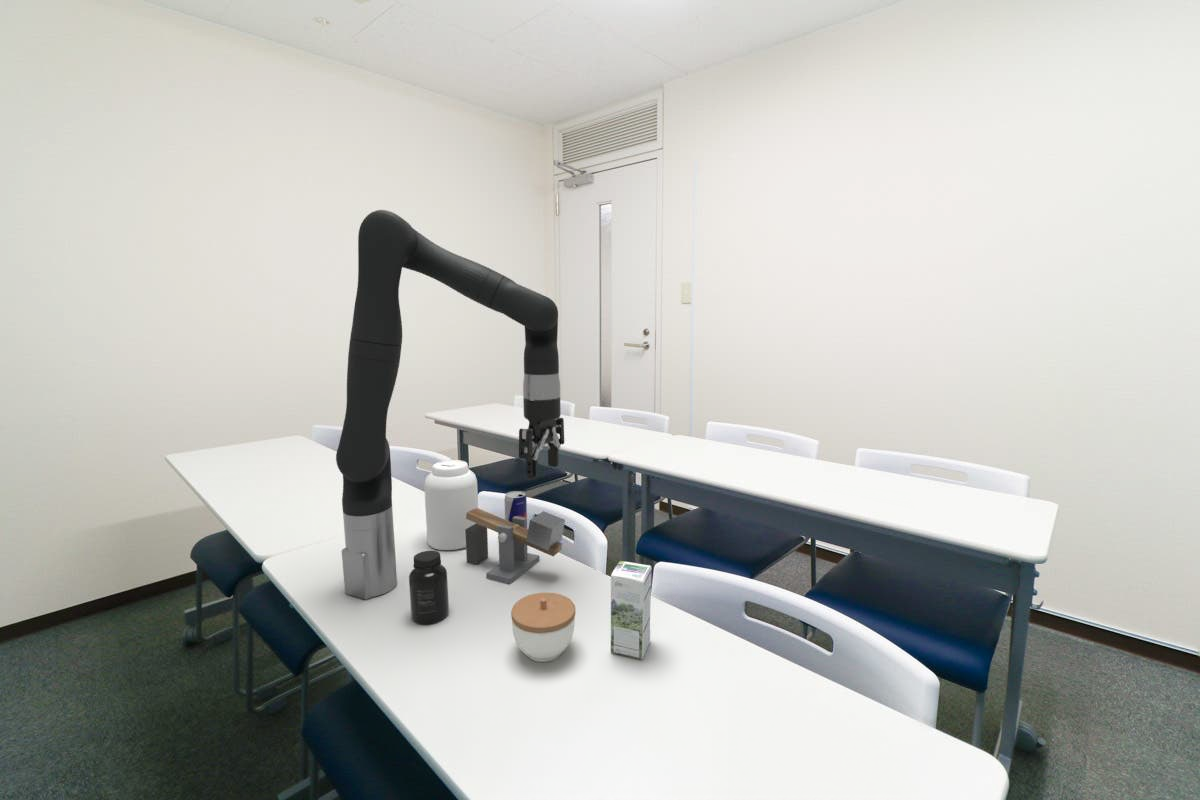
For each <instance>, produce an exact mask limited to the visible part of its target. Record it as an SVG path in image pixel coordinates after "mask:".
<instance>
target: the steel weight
mask: <svg viewBox="0 0 1200 800" xmlns="http://www.w3.org/2000/svg"><path fill="white" fill-rule="evenodd" d="M565 523H566V519H564V518H561V517H560V516H557V515H554V514H552V513H549V512H546V511H541V512H539V513H537V515H535V516H534V517H532V518H531V519H529V523H528V527H527V529H528V534H527V542H529V543H532V544H534V545H536V546H539V547H541V548H543V549H546V550H548V551H549V550H550V549H551V548H553V547H554V546H555V545H557V544H558V543H559V542H560V543H561V542H562V540H563V534H564V529H565Z"/></svg>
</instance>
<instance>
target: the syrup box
mask: <svg viewBox="0 0 1200 800" xmlns="http://www.w3.org/2000/svg"><path fill="white" fill-rule="evenodd" d="M651 598H652V566H651V565H649V564H642V563H637V562H631V561H623V560H619V562H618V563H617V565H616V566H615V568H614V569H613V571H612V573H611V574H610V653H611V654H614V655H615V654H616V655H619V656H624V657H629V658H633V659H638V660H643V659H644V656H645V653H646V652H647V649H648V647H649V644H650V642H651Z"/></svg>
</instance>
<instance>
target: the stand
mask: <svg viewBox="0 0 1200 800" xmlns="http://www.w3.org/2000/svg"><path fill="white" fill-rule="evenodd" d="M512 520H513V523H514V524H518V525H520V526H522V527H524V528H526V529H528V517H527V518H523V517H518V516H515V517H513V518H512ZM465 533H466V547H465V551H466V552H465V555H466V556H465V557H466V563H469V564H471V565H475V566H478V565H480V564H481V563H483V562H484V561H486V560H487V559H488V558H489V546H488V545H489V543H488V542H489V540H488V528H486V527H484V526H481V525H479V524H477V523H476V524H474V525H472V526H470V527H469V528H467V529H465ZM497 534H498V535H497V539H498V561H499V562H498V563H497V565H496V566H494V567H492V568H491V569H489V571H487V572H486V575H485V576H486V577H485V578H486V579H488V580H492V581H495V582H499V583H503V584H506V585H511V584H512V583H514V581H516V580H517V579H518V578H520V576H522V575H523V574H524V573H525V572H527V571H528V570H530V569H532V567H533V566H534V565H536V564H537V563H539V562H540V560H541V559H540V558H541V557H540V555H539V554H533V553H529V552H528V545H525V544H523V543H521V542H518V541H516V540H514V539H513V527H511V526H506V525H500V526H498V532H497Z"/></svg>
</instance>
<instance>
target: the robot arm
mask: <svg viewBox="0 0 1200 800" xmlns="http://www.w3.org/2000/svg"><path fill="white" fill-rule="evenodd" d="M357 236H358V237H357V238H358V239H357V240H358V241H357V243H358V244H357V245H358V246H357V250H358V252H357V254H358V258H357V259H358V261H357V264H358V267H357V269H358V273H357V276H358V277H357V289H356V296H355V301H354V308H353V315H352V324H351V329H350V330H351V331H350V338H349V346H348V355H347V356H348V357H347V369H346V370H347V372H346V373H347V374H346V405H345V406H346V407H345V408H346V409H345V415H344V420H343V425H342V429H341V430H342V431H341V434H340V439H339V443H338V447H337V450H336V454H335V461H336V462H335V463H336V465H337V468H338V470H339V472H340V473H341V475H342V483H343V484H342V497H341V505H342V507H341V508H342V516H343V529H344V542H345V548H342V549H341V560H342V561H341V562H342V569H343V570H342V572H343V573H342V574H343V583H344V594H347V595H349V596H353V597H356V598H359V599H363V600H366V601H367V600H369V599H371V598H374V597H378V596H382V595H385V594H386V593H389V592H391V591H392V590H394V589H395V588H396V586H397V584H398V578H397V576H398V575H397V573H398V572H397V560H396V559H397V557H396V545H395V531H394V530H395V529H394V528H395V527H394V513H393V498H392V495H393V479H392V465H391V464H392V463H391V448H390V443H389V441H388V439H387V421H388V419H387V417H388V411H389V406H390V404H391V399H392V397H393V393H394V390H395V385H396V381H397V377H398V373H399V368H400V361H401V353H402V344H403V322H402V315H401V308H400V298H399V297H400V295H399V293H400V291H399V290H400V289H399V288H400V281H401V275H402V271H403V268H404V269H407V270H410V271H414V272H417V273H419V274H423V275H425V276H427V277H430V278H431V279H434V280H436V281H438V282H440V283H442V284H444V285H445V286H447V287H448V288H451V289H452V290H454V291H456V292H457V293H459V294H460V295H462V296H465V297H466V298H468V299H470V300H472V301H473V302H476V303H477V304H480V305H482V306H484V307H486V308H488V309H490V310H492V311H494V312H496V313H499V314H503V315H504V316H506V317H507V318H509V319H511V320H513V321H515V322H516V323H518V324H520V325H522V326H523V327H524V340H525V341H524V342H525V346H524V352H523V383H522V385H523V386H522V390H523V391H522V393H523V394H522V395H523V397H522V398H523V400H522V401H523V417H524V419H525V420H527V421H528V427H527V428H520V429H518V458H519V459H523V460H525V462H526V463H525V464H526V471H525V472H526V476H527V478H529V479H536V478H538V476H539V472H538V471H539V470H538V468H539V467H538V456H539V454H540V451H542V450H543V449H544V446H545V445H546V446H547V448H548V449H547V464H548V466H549V467H552V468H553V467H554V468H556V467H558V466H559V464H560V463H559V462H560V461H559V459H560V458H559V456H560V455H559V450H560V449H561V445H565V421H564V418H563V417H561V379H560V373H559V372H560V368H559V367H560V365H559V364H560V362H559V361H560V360H559V350H558V329H559V327H558V326H559V311H558V309H559V308H558V306H557V304H556V303H555V302H554V301H553V300H552V299H551V298H550V297H548V296H545V295H544V294H541V293H539V292H536V291H535V290H532V289H530V288H528V287H526V286H523V285H521V284H519V283H516V282H515V281H514V280H512V279H511V278H509V277H507V276H506V275H504V274H502V273H500V272H498V271H496V270H494V269H491V268H489V267H487V266H485V265H484V264H481V263H479V262H476V261H473V260H471V259H468V258H466V257H463V256H461V255H458V254H456V253H453V252H452V251H450V250H447V249H445V248H443V247H442V246H440V245H438V244H436V243H434V242H433V241H431V240H430V239H428V238H427V237H426V236H425V235H423V234H421V232H419V231H417V230H416V229H414V228H413V227H412V225H411V224H410V223H409V222H407V220H405V219H404V218H403V217H401V216H400V215H398V214H396V213H395V212H392V211H390V210H386V209H377V210H375V211H372V212H370V213H368V215H366V216H365V217H364V219H363V220H362V222H361V223H360V226H359V230H358V235H357Z"/></svg>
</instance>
